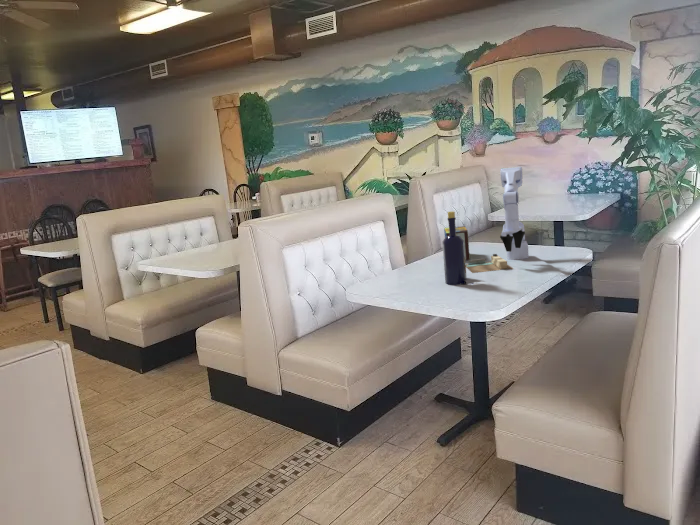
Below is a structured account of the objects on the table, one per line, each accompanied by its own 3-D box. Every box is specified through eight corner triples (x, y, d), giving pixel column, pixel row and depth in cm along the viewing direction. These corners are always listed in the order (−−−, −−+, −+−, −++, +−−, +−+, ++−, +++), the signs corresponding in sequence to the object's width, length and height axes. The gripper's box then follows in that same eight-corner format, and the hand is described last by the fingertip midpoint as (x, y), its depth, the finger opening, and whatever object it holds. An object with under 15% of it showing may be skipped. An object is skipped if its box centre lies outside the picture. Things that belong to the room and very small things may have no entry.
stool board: (501, 262, 263) (501, 260, 262) (513, 271, 245) (513, 268, 245) (463, 267, 262) (463, 264, 262) (472, 275, 245) (472, 272, 245)
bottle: (467, 284, 232) (462, 212, 225) (444, 285, 234) (439, 214, 227) (467, 278, 240) (462, 209, 234) (445, 280, 242) (440, 211, 236)
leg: (491, 262, 259) (491, 254, 258) (497, 261, 259) (497, 253, 258) (500, 268, 245) (500, 260, 244) (507, 268, 245) (506, 259, 244)
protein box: (466, 255, 286) (464, 225, 283) (470, 262, 271) (468, 230, 268) (446, 257, 287) (443, 227, 284) (448, 264, 272) (445, 232, 269)
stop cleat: (485, 262, 261) (484, 258, 261) (485, 263, 260) (485, 258, 260) (468, 264, 261) (467, 260, 261) (468, 264, 260) (468, 260, 260)
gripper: (512, 216, 253) (514, 245, 256) (494, 221, 244) (496, 252, 247) (526, 216, 248) (528, 246, 251) (508, 222, 239) (510, 253, 241)
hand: (513, 249), depth 248 cm, fingers open, 7 cm apart
